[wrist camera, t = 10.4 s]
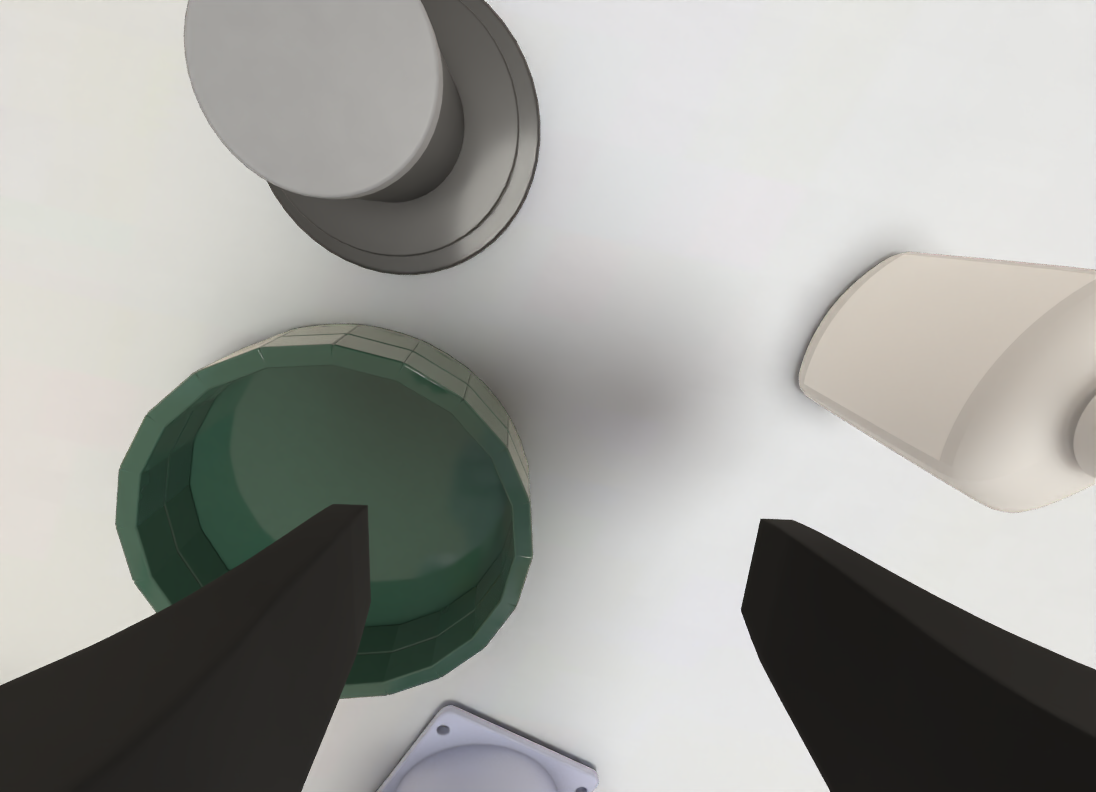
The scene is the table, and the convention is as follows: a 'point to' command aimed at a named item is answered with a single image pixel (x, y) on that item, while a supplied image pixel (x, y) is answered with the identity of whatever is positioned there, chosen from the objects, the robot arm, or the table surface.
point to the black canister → (327, 94)
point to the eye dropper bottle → (968, 372)
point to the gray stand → (478, 176)
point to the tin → (340, 487)
